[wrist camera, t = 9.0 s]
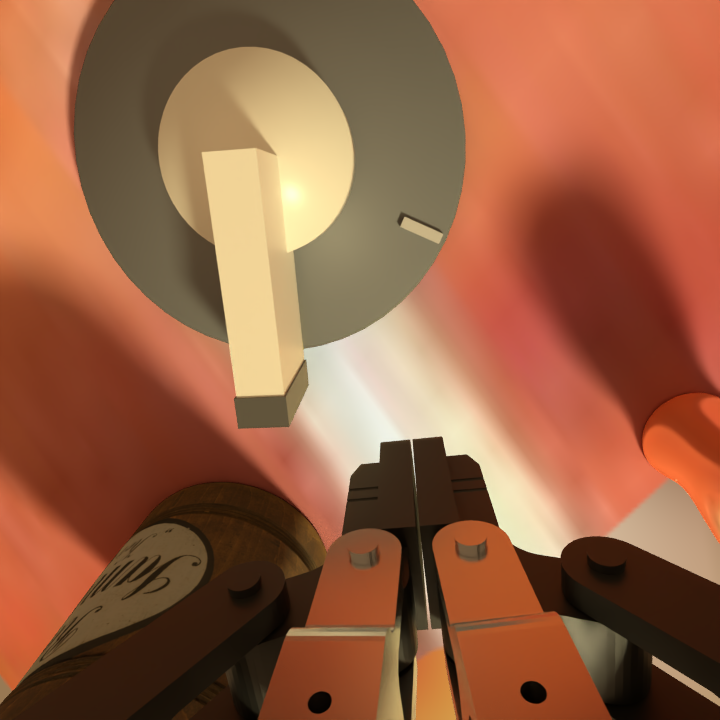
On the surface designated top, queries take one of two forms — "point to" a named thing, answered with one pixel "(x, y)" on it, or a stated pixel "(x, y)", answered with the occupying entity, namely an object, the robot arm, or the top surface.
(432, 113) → the dial base
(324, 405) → the top surface
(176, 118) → the dial lever
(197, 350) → the top surface
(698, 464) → the beer glass
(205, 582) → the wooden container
